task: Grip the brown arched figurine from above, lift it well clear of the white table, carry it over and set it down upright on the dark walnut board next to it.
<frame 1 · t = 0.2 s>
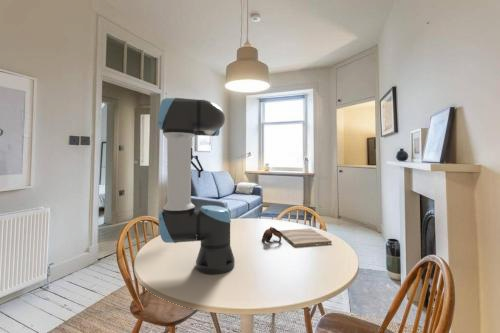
hand: (185, 183, 138), 28 cm above the table, tool pointing down, fingers open, 13 cm apart
brown arched figurine: (270, 242, 122), on the table
walnut board: (303, 238, 128), on the table
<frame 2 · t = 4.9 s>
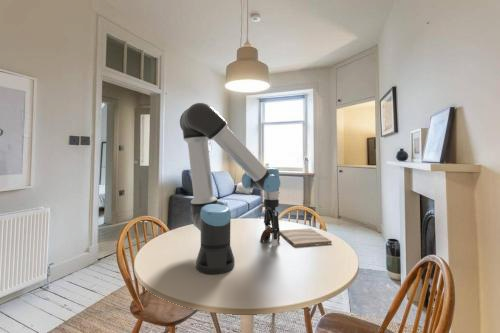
hand: (271, 241, 122), 0 cm above the table, tool pointing down, fingers open, 10 cm apart
brown arched figurine: (269, 242, 122), on the table, touching gripper
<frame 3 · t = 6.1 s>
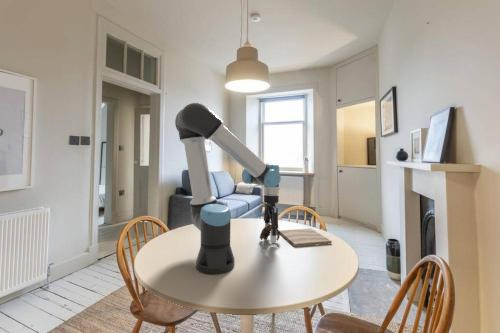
hand: (270, 238, 121), 2 cm above the table, tool pointing down, fingers closed on brown arched figurine, 9 cm apart
brown arched figurine: (268, 240, 121), point 1 cm above the table, touching gripper
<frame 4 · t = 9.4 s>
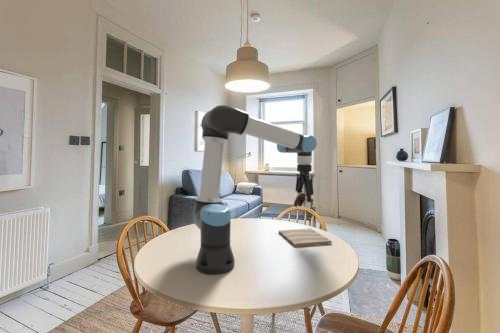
hand: (303, 206, 127), 17 cm above the table, tool pointing down, fingers closed on brown arched figurine, 9 cm apart
brown arched figurine: (302, 207, 127), point 17 cm above the table, touching gripper
when the fingers open (3 cm above the table, at t = 12.9 s): brown arched figurine drops 1 cm, resting on walnut board.
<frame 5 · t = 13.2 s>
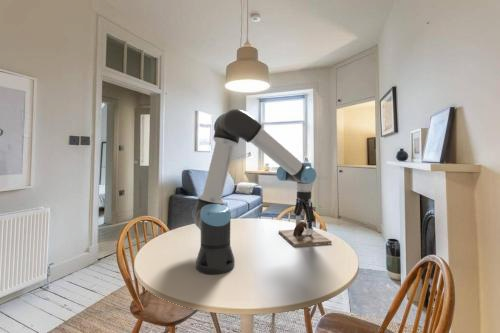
hand: (303, 230, 128), 4 cm above the table, tool pointing down, fingers open, 12 cm apart
brown arched figurine: (302, 236, 127), point 1 cm above the table, touching walnut board
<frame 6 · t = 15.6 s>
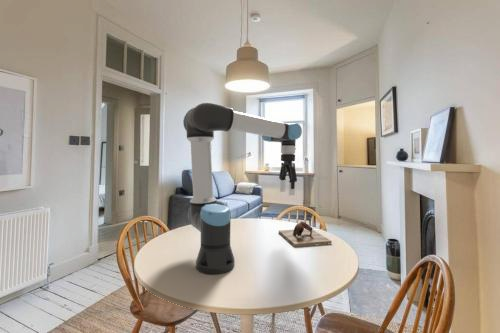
hand: (286, 193, 128), 24 cm above the table, tool pointing down, fingers open, 13 cm apart
nothing on the table moved.
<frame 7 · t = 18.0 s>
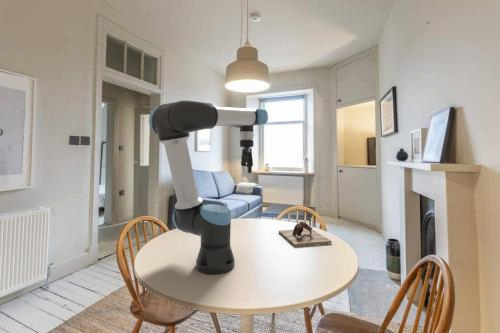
hand: (246, 178, 132), 32 cm above the table, tool pointing down, fingers open, 13 cm apart
nothing on the table moved.
at the end: brown arched figurine inside the target area on the walnut board (1.3 cm from its centre), point 1.3 cm above the walnut board's base; brown arched figurine tilted 1°; the gripper is holding nothing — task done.
